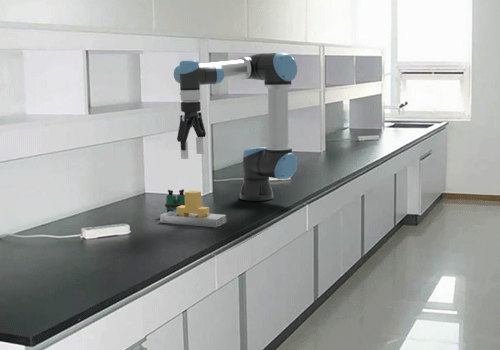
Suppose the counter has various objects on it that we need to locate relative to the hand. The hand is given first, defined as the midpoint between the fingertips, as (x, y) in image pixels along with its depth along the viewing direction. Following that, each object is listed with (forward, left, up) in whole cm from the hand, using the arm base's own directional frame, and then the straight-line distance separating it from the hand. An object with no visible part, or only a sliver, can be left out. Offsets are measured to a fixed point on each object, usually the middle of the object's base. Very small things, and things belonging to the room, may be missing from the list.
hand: (192, 156), depth 278 cm
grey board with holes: (+5, +2, -25) cm, 26 cm away
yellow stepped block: (+5, +2, -25) cm, 26 cm away
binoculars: (-7, -12, -25) cm, 29 cm away
